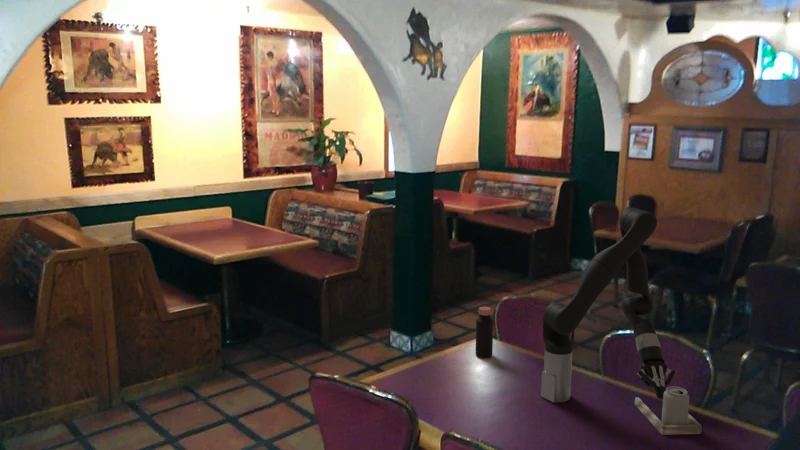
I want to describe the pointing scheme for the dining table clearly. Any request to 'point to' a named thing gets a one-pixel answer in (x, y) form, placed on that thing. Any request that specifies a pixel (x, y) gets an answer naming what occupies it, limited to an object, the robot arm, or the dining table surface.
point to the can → (675, 406)
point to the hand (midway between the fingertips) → (662, 399)
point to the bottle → (484, 333)
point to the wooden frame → (692, 425)
